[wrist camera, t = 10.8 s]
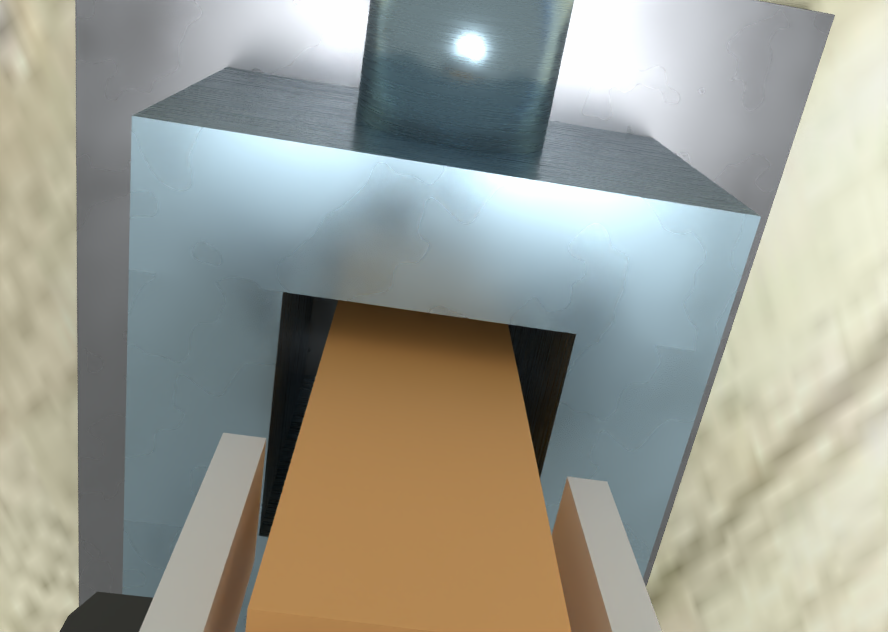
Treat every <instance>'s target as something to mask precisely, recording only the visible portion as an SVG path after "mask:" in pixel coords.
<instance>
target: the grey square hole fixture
mask: <svg viewBox="0 0 888 632" xmlns="http://www.w3.org/2000/svg"><path fill="white" fill-rule="evenodd" d="M834 16H835V15H833V14H828V13H822V12H817V11H811V10H806V9H801V8H795V7H790V6H784V5H779V4H774V3H768V2H763V1H757V0H76V165H77V334H78V503H79V607H80V606H81V605H82V604H83V603H84V602H85V601H87V600H88V599H89V598H90V597H91V596H92V595H94V594H95V593H96V592H106V593H115V594H125V595H134V596H143V597H152V598H154V595H155V593H156V590H157V588H158V586H159V583H160V581H161V579H162V576H163V574H164V571H165V569H166V567H167V564H168V562H169V560H170V557H171V555H172V553H173V550H174V548H175V545H176V543H177V541H178V538H179V536H180V534H181V531H182V529H183V527H184V524H185V522H186V519H187V517H188V515H189V512H190V510H191V508H192V505H193V503H194V501H195V498H196V496H197V493H198V491H199V489H200V486H201V484H202V482H203V479H204V477H205V475H206V472H207V470H208V467H209V465H210V463H211V460H212V458H213V456H214V453H215V451H216V449H217V446H218V444H219V441H220V439H221V437H222V434H223V433H230V434H238V435H246V436H254V437H262V438H266V447H265V457H264V468H263V478H262V489H261V499H260V509H259V520H258V530H257V540H256V551H255V561H254V564H253V568H252V571H251V575H250V579H249V582H248V586H247V589H246V593H245V597H244V600H243V604H242V607H241V611H240V614H239V618H238V622H237V625H236V629H235V632H245V630H246V619H247V609H248V605H249V602H250V599H251V595H252V592H253V588H254V585H255V582H256V578H257V575H258V571H259V568H260V565H261V561H262V558H263V554H264V551H265V548H266V544H267V541H268V537H269V534H270V531H271V527H272V524H273V520H274V517H275V514H276V510H277V507H278V503H279V500H280V497H281V493H282V490H283V486H284V483H285V480H286V476H287V473H288V469H289V466H290V463H291V459H292V456H293V452H294V449H295V446H296V442H297V439H298V435H299V432H300V429H301V425H302V422H303V418H304V415H305V412H306V408H307V405H308V401H309V398H310V395H311V391H312V388H313V384H314V381H315V378H316V374H317V371H318V367H319V364H320V361H321V357H322V354H323V350H324V347H325V344H326V340H327V337H328V333H329V330H330V327H331V323H332V320H333V316H334V313H335V310H336V306H337V303H338V300H343V301H350V302H357V303H364V304H371V305H378V306H384V307H391V308H398V309H405V310H412V311H419V312H426V313H433V314H440V315H447V316H454V317H461V318H468V319H475V320H482V321H489V322H496V323H503V324H508V327H509V331H510V336H511V341H512V346H513V351H514V356H515V360H516V365H517V370H518V375H519V380H520V385H521V390H522V394H523V399H524V404H525V409H526V414H527V419H528V423H529V428H530V433H531V438H532V443H533V448H534V453H535V457H536V462H537V467H538V472H539V477H540V482H541V486H542V491H543V496H544V501H545V506H546V511H547V516H548V520H549V525H550V530H551V535H552V532H553V528H554V524H555V521H556V517H557V513H558V509H559V506H560V502H561V498H562V494H563V491H564V487H565V483H566V479H567V476H568V477H575V478H583V479H591V480H599V481H607V482H608V485H609V488H610V490H611V493H612V496H613V499H614V501H615V504H616V507H617V510H618V512H619V515H620V518H621V521H622V523H623V526H624V529H625V531H626V534H627V537H628V540H629V542H630V545H631V548H632V551H633V553H634V556H635V559H636V562H637V564H638V567H639V570H640V573H641V575H642V578H643V581H644V583H645V586H646V585H647V582H648V579H649V576H650V573H651V570H652V567H653V564H654V561H655V558H656V555H657V552H658V549H659V546H660V543H661V540H662V537H663V534H664V531H665V528H666V525H667V522H668V519H669V516H670V513H671V510H672V507H673V504H674V500H675V497H676V494H677V491H678V488H679V485H680V482H681V479H682V476H683V473H684V470H685V467H686V464H687V461H688V458H689V455H690V452H691V449H692V446H693V443H694V440H695V437H696V434H697V431H698V428H699V425H700V422H701V419H702V416H703V413H704V410H705V407H706V404H707V401H708V398H709V395H710V391H711V388H712V385H713V382H714V379H715V376H716V373H717V370H718V367H719V364H720V361H721V358H722V355H723V352H724V349H725V346H726V343H727V340H728V337H729V334H730V331H731V328H732V325H733V322H734V319H735V316H736V313H737V310H738V307H739V304H740V301H741V298H742V295H743V292H744V289H745V286H746V283H747V279H748V276H749V273H750V270H751V267H752V264H753V261H754V258H755V255H756V252H757V249H758V246H759V243H760V240H761V237H762V234H763V231H764V228H765V225H766V222H767V219H768V216H769V213H770V210H771V207H772V204H773V201H774V198H775V195H776V192H777V189H778V186H779V183H780V180H781V177H782V174H783V170H784V167H785V164H786V161H787V158H788V155H789V152H790V149H791V146H792V143H793V140H794V137H795V134H796V131H797V128H798V125H799V122H800V119H801V116H802V113H803V110H804V107H805V104H806V101H807V98H808V95H809V92H810V89H811V86H812V83H813V80H814V77H815V74H816V71H817V68H818V65H819V61H820V58H821V55H822V52H823V49H824V46H825V43H826V40H827V37H828V34H829V31H830V28H831V25H832V22H833V19H834Z"/></svg>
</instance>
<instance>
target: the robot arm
mask: <svg viewBox="0 0 888 632" xmlns="http://www.w3.org/2000/svg"><path fill="white" fill-rule="evenodd" d="M265 447H266V438H262V437H254V436H246V435H238V434H230V433H223V434H222V437H221V439H220V441H219V444H218V446H217V449H216V451H215V453H214V456H213V458H212V460H211V463H210V465H209V467H208V470H207V472H206V475H205V477H204V479H203V482H202V484H201V486H200V489H199V491H198V493H197V496H196V498H195V501H194V503H193V505H192V508H191V510H190V512H189V515H188V517H187V519H186V522H185V524H184V527H183V529H182V531H181V534H180V536H179V538H178V541H177V543H176V545H175V548H174V550H173V553H172V555H171V557H170V560H169V562H168V564H167V567H166V569H165V571H164V574H163V576H162V579H161V581H160V583H159V586H158V588H157V590H156V593H155V595H154V598H152V597H143V596H134V595H125V594H115V593H106V592H96V593H95V594H94V595H92V596H91V597H90V598H89V599H88V600H87V601H85V602H84V603H83V604H82V605H81V606H80V607H78V608H77V609H76V610H75V611H74V612H72V613H71V614H70V615H69V616H68V617H67V619H66V621H65V623H64V625H63V627H62V628H61V630H60V632H235V629H236V625H237V622H238V618H239V614H240V611H241V607H242V604H243V600H244V597H245V593H246V589H247V586H248V582H249V579H250V575H251V571H252V568H253V564H254V561H255V551H256V540H257V530H258V520H259V509H260V499H261V489H262V478H263V468H264V457H265ZM552 540H553V545H554V549H555V554H556V559H557V564H558V569H559V574H560V579H561V583H562V588H563V593H564V598H565V603H566V608H567V612H568V617H569V622H570V627H571V632H662V630H661V627H660V624H659V622H658V619H657V616H656V614H655V611H654V608H653V605H652V603H651V600H650V597H649V594H648V592H647V589H646V586H645V583H644V581H643V578H642V575H641V573H640V570H639V567H638V564H637V562H636V559H635V556H634V553H633V551H632V548H631V545H630V542H629V540H628V537H627V534H626V531H625V529H624V526H623V523H622V521H621V518H620V515H619V512H618V510H617V507H616V504H615V501H614V499H613V496H612V493H611V490H610V488H609V485H608V482H607V481H599V480H591V479H583V478H575V477H568V476H567V479H566V483H565V487H564V491H563V494H562V498H561V502H560V506H559V509H558V513H557V517H556V521H555V524H554V528H553V532H552Z"/></svg>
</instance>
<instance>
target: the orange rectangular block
mask: <svg viewBox="0 0 888 632" xmlns="http://www.w3.org/2000/svg"><path fill="white" fill-rule="evenodd" d="M245 632H571V627H570V622H569V617H568V612H567V608H566V603H565V598H564V593H563V588H562V583H561V579H560V574H559V569H558V564H557V559H556V554H555V549H554V545H553V540H552V535H551V530H550V525H549V520H548V516H547V511H546V506H545V501H544V496H543V491H542V486H541V482H540V477H539V472H538V467H537V462H536V457H535V453H534V448H533V443H532V438H531V433H530V428H529V423H528V419H527V414H526V409H525V404H524V399H523V394H522V390H521V385H520V380H519V375H518V370H517V365H516V360H515V356H514V351H513V346H512V341H511V336H510V331H509V327H508V324H503V323H496V322H489V321H482V320H475V319H468V318H461V317H454V316H447V315H440V314H433V313H426V312H419V311H412V310H405V309H398V308H391V307H384V306H378V305H371V304H364V303H357V302H350V301H343V300H338V303H337V306H336V310H335V313H334V316H333V320H332V323H331V327H330V330H329V333H328V337H327V340H326V344H325V347H324V350H323V354H322V357H321V361H320V364H319V367H318V371H317V374H316V378H315V381H314V384H313V388H312V391H311V395H310V398H309V401H308V405H307V408H306V412H305V415H304V418H303V422H302V425H301V429H300V432H299V435H298V439H297V442H296V446H295V449H294V452H293V456H292V459H291V463H290V466H289V469H288V473H287V476H286V480H285V483H284V486H283V490H282V493H281V497H280V500H279V503H278V507H277V510H276V514H275V517H274V520H273V524H272V527H271V531H270V534H269V537H268V541H267V544H266V548H265V551H264V554H263V558H262V561H261V565H260V568H259V571H258V575H257V578H256V582H255V585H254V588H253V592H252V595H251V599H250V602H249V605H248V609H247V619H246V630H245Z"/></svg>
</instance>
